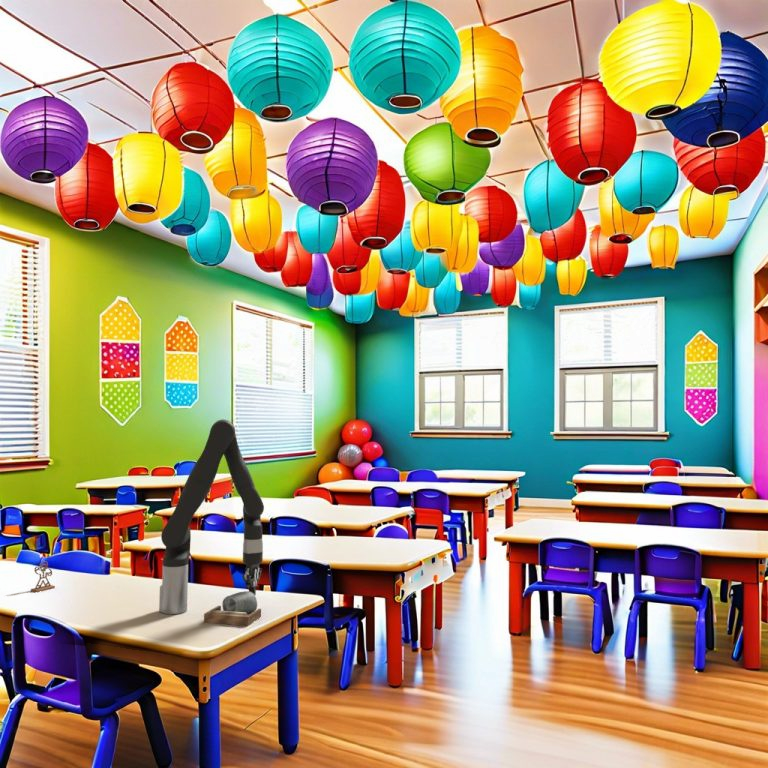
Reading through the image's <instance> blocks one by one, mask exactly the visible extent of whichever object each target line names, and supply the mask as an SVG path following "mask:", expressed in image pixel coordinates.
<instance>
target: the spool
mask: <svg viewBox="0 0 768 768" xmlns="http://www.w3.org/2000/svg"><path fill="white" fill-rule="evenodd" d="M221 607H222V611H232V612H245V613H247V614H251V613H253V612H254V611H256V610H257V609H258V601H257V596H256V595H254V594H253V593H252V592H249V590H248V591H245V590H244V591H238V592H236V593H231V594H230V595H227V596H226V597H224V598H223V600H222V604H221Z"/></svg>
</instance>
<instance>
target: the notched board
mask: <svg viewBox="0 0 768 768" xmlns="http://www.w3.org/2000/svg"><path fill="white" fill-rule="evenodd" d="M260 617H261V618H262V608H257V609H256V610H255V611H254V612H251V613H245V612H232V611H223V610H222V605H217V606H216V607H213V608H211V609H210V610H208V611H206V612H205V613H204V614H203V623H209V624H220V625H234V626H243V627H244V626H247V627H248V626H251V624H254V623H255V622H257V619H258V620H259V619H261V618H260ZM254 621H255V622H254Z"/></svg>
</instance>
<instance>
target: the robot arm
mask: <svg viewBox="0 0 768 768" xmlns="http://www.w3.org/2000/svg"><path fill="white" fill-rule="evenodd" d="M236 434H237V433H236V427H235V425H234V424H233V422H231V421H230V420H228V419H219V420H216V421H215V422H214V423H213V424H212V425H211V428H210V430H209V434H208V438H207V441H206V443H205V446H204V448H203V450H202V453H201V454H200V456H199V458H198V459H197V460H196V462H195V464H194V466H193V467H192V469H191V471H190V473H189V474H188V476H187V477H188V478H187V479H186V482H185V483H184V486H183V488H182V491H181V493H180V495H179V498H178V501H177V504H176V505H175V508H174V510H173V512H172V514H171V516H170V517H169V519H168V521H166V524H165V525H164V527H163V529H162V531H161V537H160V538H161V542H162V544H163V545H164V546H165V551H164V555H163V558H162V579H161V581H162V582H161V585H160V586H159V607H158V610H159V611H158V612H159V613H162V614H166V615H178V614H183V613H185V612H187V611H188V588H189V558H190V553H191V539H192V538H191V536H192V535H191V533H192V532H191V527H190V524H191V522H192V519H193V518H194V516H195V515H196V512H197V511H198V510H199V509H200V507H201V505H202V504H203V503H204V501H205V499H206V497H207V496H208V494H209V492H210V490H211V488H212V485H213V484H214V481H215V479H216V476H217V474H218V471H219V470H218V469H219V466H220V464H221V461H222V458H223V456H224V459H225V461H226V464H227V468H228V472H229V475H230V478H231V481H232V483H233V486H234V487H235V490H236V492H237V494H238V495H239V496H240V499H241V501H242V515H243V516H242V517H243V524H244V525H243V527H244V528H243V542H242V563H243V564H245V565H246V566H245V573H244V574H242V579H243V581H244V585H245V586H246V587H248V591H249V592H252V593H253V594H254V595H255V596H256V594H257V588H256V587H257V585H258V584H259V582H260V579H261V576H262V573H263V572H262V571H263V568H260V564H262V563H263V561H264V560H263V559H264V557H263V556H264V555H263V554H264V545H263V544H264V542H263V524H262V522H261V519H262V518H261V515H262V514H263V513H264V510H265V505H264V503H263V500H262V498H261V496H260V493H259V492H258V491H257V488H256V486H255V482H254V480H253V477H252V475H251V473H250V471H249V468H248V466H247V464H246V462H245V460H244V457H243V455H242V452H241V450H240V447H239V444H238V439H237V435H236Z"/></svg>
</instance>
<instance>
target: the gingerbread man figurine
mask: <svg viewBox="0 0 768 768" xmlns="http://www.w3.org/2000/svg"><path fill="white" fill-rule="evenodd" d="M44 562H45V563H44ZM48 566H49V564H48V561H46V560H42V561H41V562H40V563H39V566H35V567H34V573H35V574H36V575H39V579H38V581H37V583H36V585H35V587H34V588H30V592H31V593H35V592H37V593H41V592H45V591H50V590H52V589H55V588H56V586H55V585H52V584H51V583H50V581H49V579H48V577H51V576H52V575H53V570H52V569H51V568H48ZM47 569H48V570H49V572H48V571H47ZM38 571H41V573H38ZM46 571H47V572H46ZM44 579H45V580H46V582H47V583H46V582H45V580H44ZM41 580H42V581H41ZM40 582H41V583H40ZM42 585H43V586H42ZM40 591H41V592H40Z"/></svg>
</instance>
